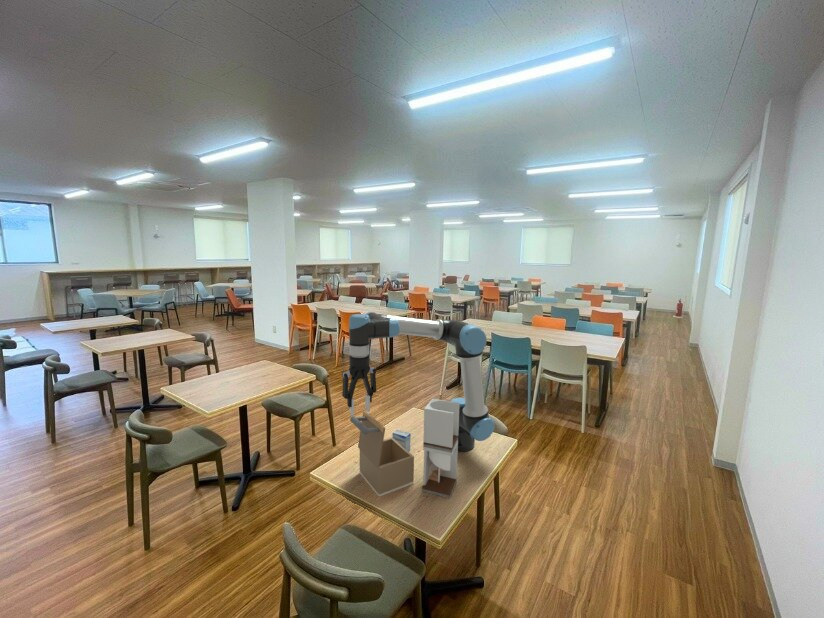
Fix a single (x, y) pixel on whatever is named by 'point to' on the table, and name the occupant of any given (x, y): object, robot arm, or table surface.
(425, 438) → the white tower
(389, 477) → the carton
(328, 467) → the table surface
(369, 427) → the lid flap
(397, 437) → the medicine box
